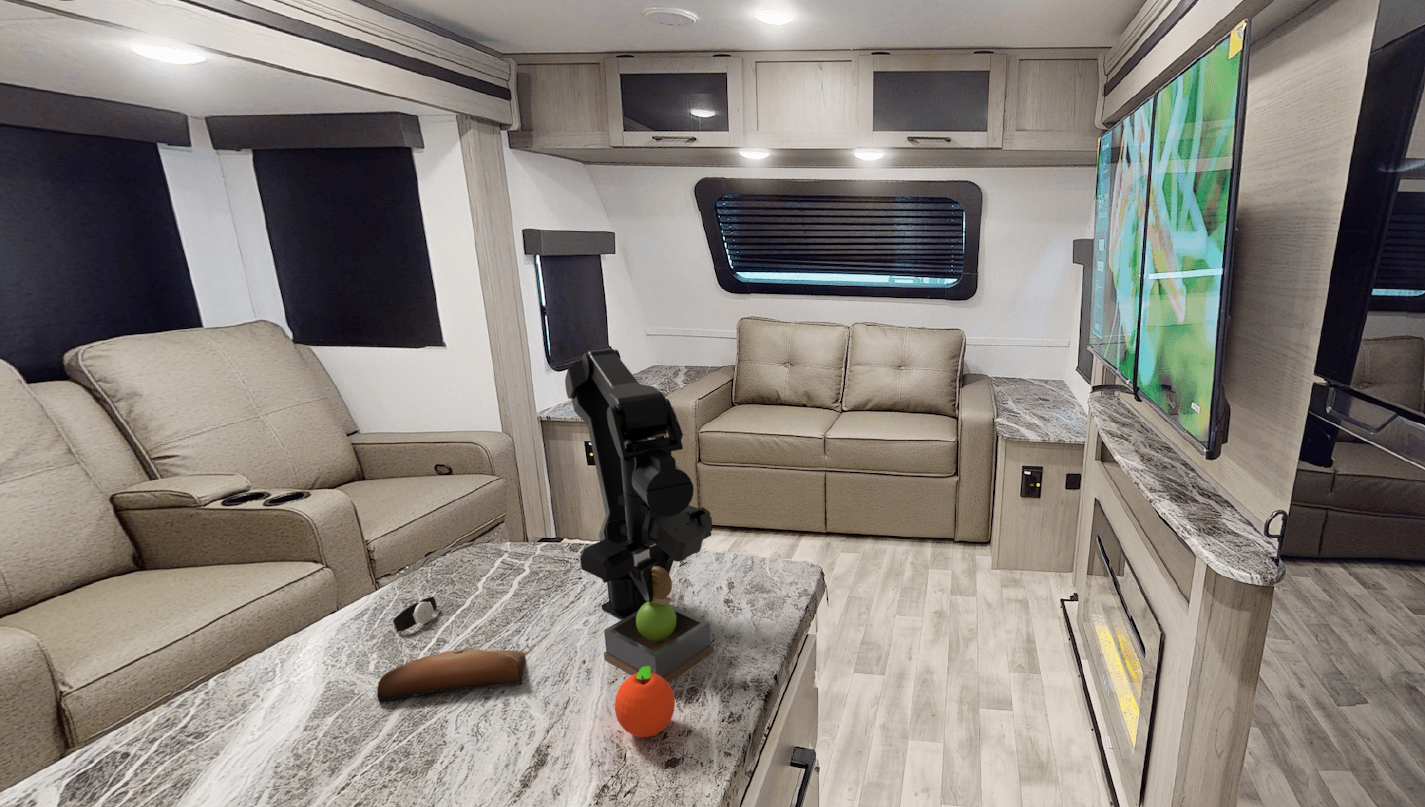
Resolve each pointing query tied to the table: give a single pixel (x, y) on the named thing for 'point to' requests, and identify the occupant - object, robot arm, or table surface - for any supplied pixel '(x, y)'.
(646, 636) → the snail figurine
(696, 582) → the table surface
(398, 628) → the watch
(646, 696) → the clementine
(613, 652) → the grey planter box
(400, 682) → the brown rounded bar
